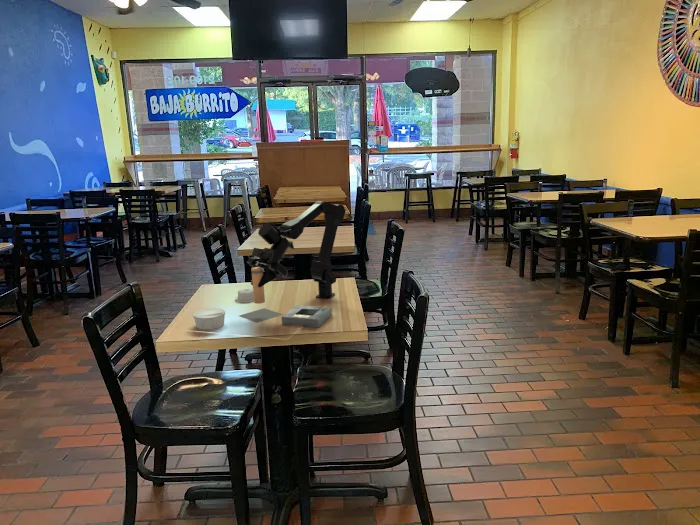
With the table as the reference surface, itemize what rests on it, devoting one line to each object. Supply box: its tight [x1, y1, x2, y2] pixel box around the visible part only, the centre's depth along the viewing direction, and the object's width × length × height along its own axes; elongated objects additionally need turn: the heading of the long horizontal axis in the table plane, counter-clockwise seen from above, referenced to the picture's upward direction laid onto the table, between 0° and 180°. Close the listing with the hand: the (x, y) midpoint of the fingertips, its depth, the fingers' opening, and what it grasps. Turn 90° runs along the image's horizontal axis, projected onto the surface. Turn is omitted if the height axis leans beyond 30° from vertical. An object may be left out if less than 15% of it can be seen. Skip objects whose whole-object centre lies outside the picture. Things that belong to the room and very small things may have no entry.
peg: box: [250, 267, 266, 305], centre depth 198 cm, size 4×4×13 cm
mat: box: [238, 307, 284, 324], centre depth 201 cm, size 12×12×1 cm
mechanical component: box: [235, 288, 254, 303], centre depth 222 cm, size 10×4×10 cm
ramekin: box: [192, 307, 226, 331], centre depth 191 cm, size 11×11×5 cm
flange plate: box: [281, 304, 333, 329], centre depth 195 cm, size 14×14×3 cm
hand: (255, 285), depth 197 cm, fingers closed on peg, 4 cm apart
